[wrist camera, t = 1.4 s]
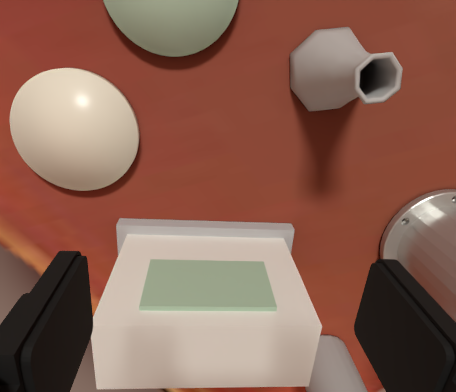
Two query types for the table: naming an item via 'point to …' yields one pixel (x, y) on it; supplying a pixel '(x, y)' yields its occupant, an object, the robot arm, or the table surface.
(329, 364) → the bottle
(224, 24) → the green pad
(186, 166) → the table surface
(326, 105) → the flask
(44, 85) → the cream pad
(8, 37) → the table surface
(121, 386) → the control unit
